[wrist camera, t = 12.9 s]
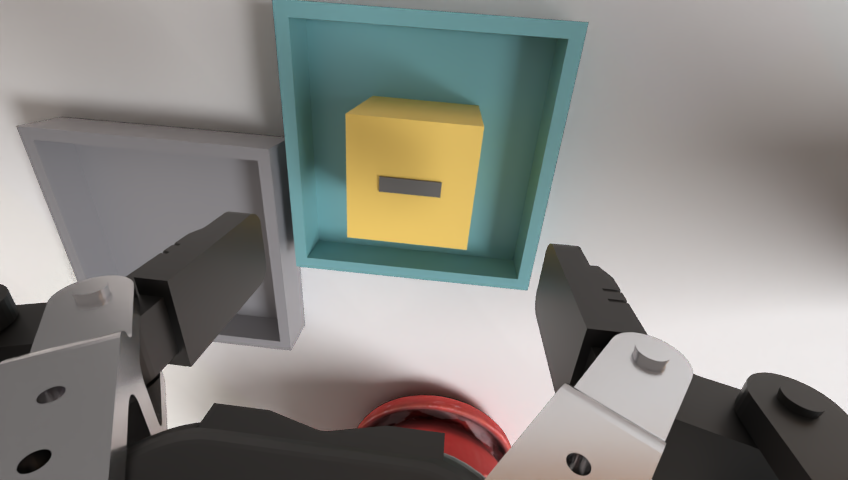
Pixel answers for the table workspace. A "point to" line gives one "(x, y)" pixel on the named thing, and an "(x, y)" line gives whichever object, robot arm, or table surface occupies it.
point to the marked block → (412, 170)
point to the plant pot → (447, 427)
